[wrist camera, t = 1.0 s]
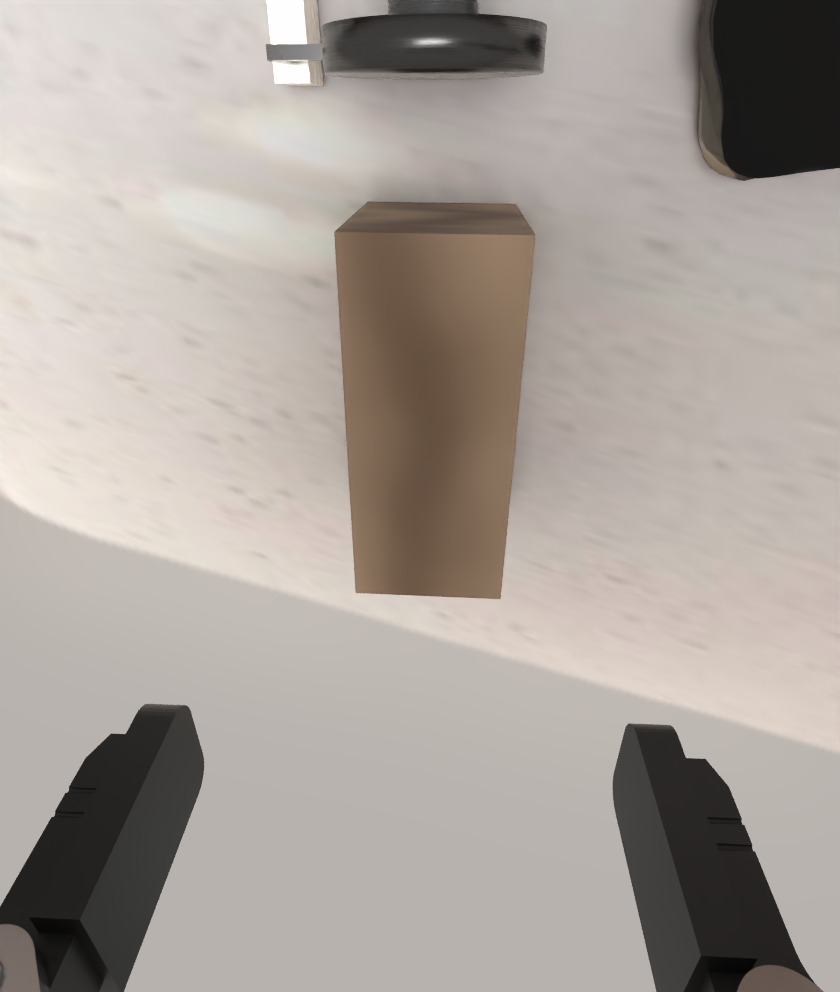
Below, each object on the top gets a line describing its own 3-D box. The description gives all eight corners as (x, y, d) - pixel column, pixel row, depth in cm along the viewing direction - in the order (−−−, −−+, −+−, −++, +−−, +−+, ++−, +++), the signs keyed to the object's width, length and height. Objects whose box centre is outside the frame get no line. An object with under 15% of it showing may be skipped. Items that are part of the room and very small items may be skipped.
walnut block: (515, 203, 25) (535, 235, 19) (492, 498, 33) (500, 598, 26) (368, 201, 26) (334, 232, 19) (377, 494, 33) (355, 592, 26)
